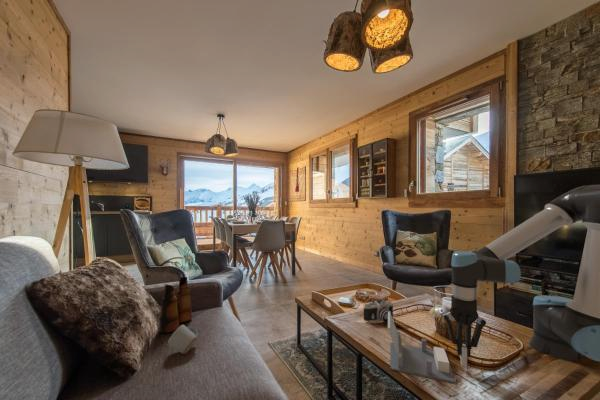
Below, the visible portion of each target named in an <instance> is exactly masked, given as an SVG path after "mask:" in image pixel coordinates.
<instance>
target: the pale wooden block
mask: <svg viewBox="0 0 600 400" xmlns="http://www.w3.org/2000/svg"><path fill="white" fill-rule="evenodd" d="M433 350H434V359H435V362H436V366H437V369H438V371H442V372H447V373H449V363H450V361H448V360H449V358H447V357H448V355H447V353H445V352H446V350H445V348H443V347H439V346H433ZM446 355H447V356H446Z"/></svg>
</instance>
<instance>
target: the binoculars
mask: <svg viewBox="0 0 600 400" xmlns="http://www.w3.org/2000/svg"><path fill="white" fill-rule="evenodd" d="M177 288H178V289H177V291H176V292H175V288H174V286H173V285H171V284H165V285H164V294H163V297H162V299H161V308H160V316H159V327H158V331H159V332H160V333H162V334H163V333H171V332H175V331H176V330H177V329H178V328H179V327H180V323H184V322H187V321H189V320H191V319H192V318H193V313H192V311H193V310H192V302H191V300H192V299H191V290H190V288H189V285H188V277H187V276H181V278H180V279H179V281H178V286H177Z"/></svg>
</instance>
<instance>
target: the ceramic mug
mask: <svg viewBox="0 0 600 400" xmlns="http://www.w3.org/2000/svg"><path fill="white" fill-rule="evenodd" d="M197 337H198V330H197V329H196V328H194V327H192V326H186V325H185V324H181V325H179V328H178V329H176V330H174V331H173V333H172V335H171V336H170V337H169V338H168V340H167V343H168V344H169V345H170V346H171V347H172V348H174V349H175V350H177V351H178V352H179V353H180V354H183V355H186V354H187V353H188V352H189V351H190V350H191V349H192V347H193V346H194V345H195V343H196V342H197V340H198V339H197Z"/></svg>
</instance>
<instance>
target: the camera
mask: <svg viewBox="0 0 600 400" xmlns="http://www.w3.org/2000/svg"><path fill="white" fill-rule="evenodd" d="M393 304H394V303H393V302H391V300H386V301H385V300H384V299H381V298H380V299H375V300H374V301H368V302H365V303H364V304H363V318H362V319H363V321H364V322H366V323H369V322H370V323H371V322H381V321H382V322H383V323H385V324H388V312H389V311H390V313H391V316H392V318H393V319H394V305H393Z"/></svg>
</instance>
